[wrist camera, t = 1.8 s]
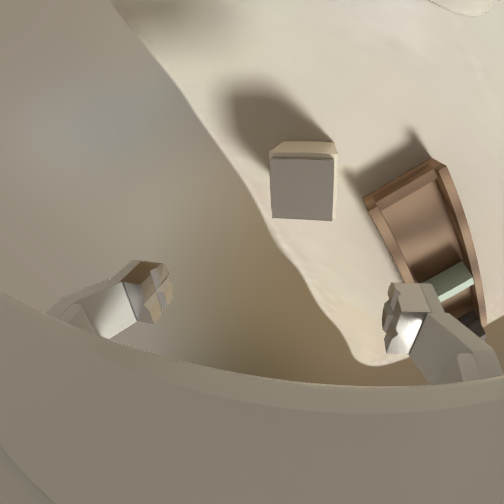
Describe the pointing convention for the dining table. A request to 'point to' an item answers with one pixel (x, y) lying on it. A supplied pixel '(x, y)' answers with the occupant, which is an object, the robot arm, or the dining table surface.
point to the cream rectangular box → (304, 180)
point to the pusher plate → (451, 281)
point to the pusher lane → (430, 235)
